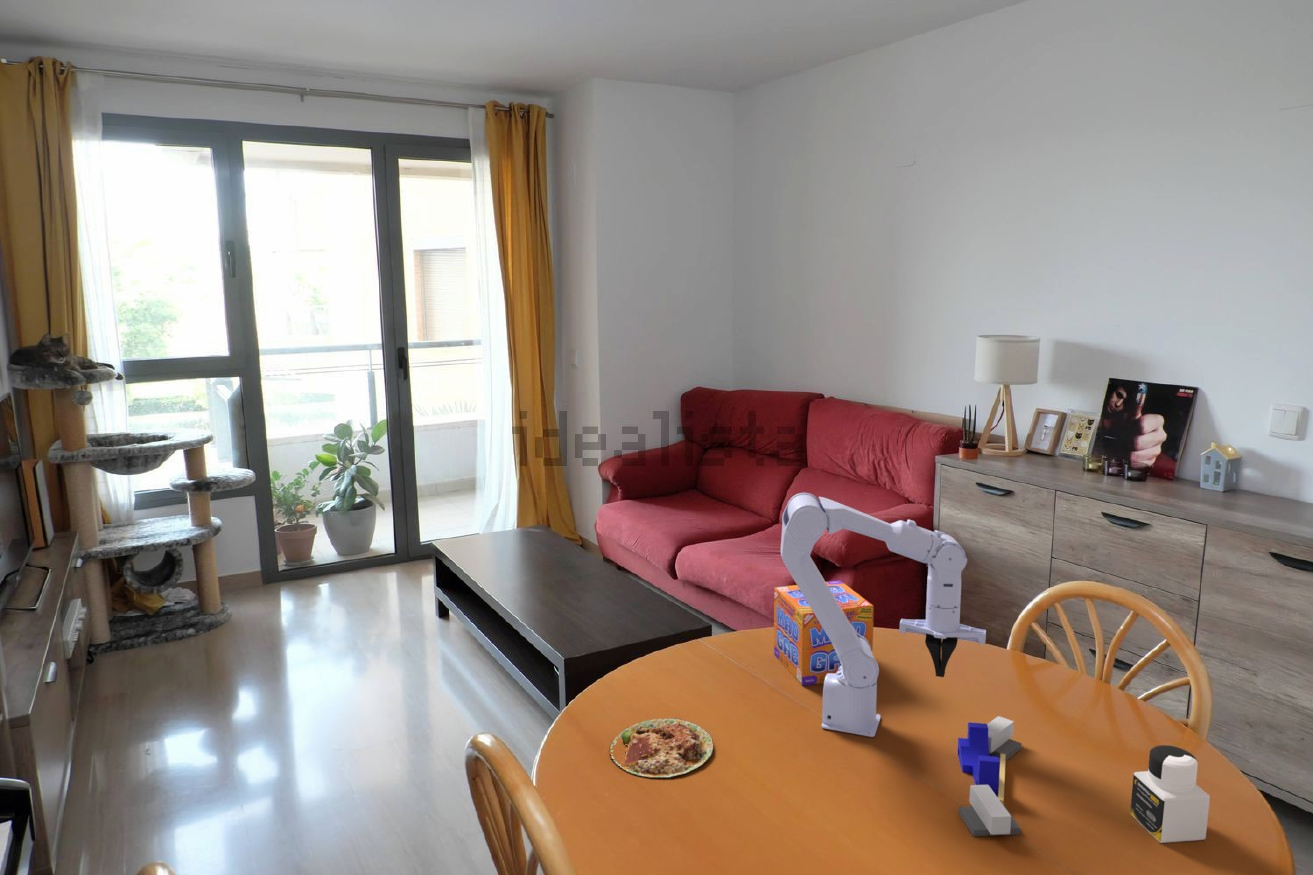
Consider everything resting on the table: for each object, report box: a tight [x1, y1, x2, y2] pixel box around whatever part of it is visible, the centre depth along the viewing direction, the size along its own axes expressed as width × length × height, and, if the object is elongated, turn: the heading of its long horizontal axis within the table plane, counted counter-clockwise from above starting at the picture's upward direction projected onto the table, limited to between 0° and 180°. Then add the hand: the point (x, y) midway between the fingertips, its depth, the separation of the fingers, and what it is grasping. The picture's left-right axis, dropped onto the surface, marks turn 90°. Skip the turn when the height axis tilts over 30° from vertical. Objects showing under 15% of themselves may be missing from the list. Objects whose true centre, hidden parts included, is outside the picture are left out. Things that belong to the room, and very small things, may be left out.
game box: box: [773, 580, 875, 687], centre depth 182 cm, size 16×16×16 cm
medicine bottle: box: [1129, 744, 1211, 844], centre depth 128 cm, size 7×7×12 cm
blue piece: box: [957, 722, 1000, 797], centre depth 143 cm, size 12×4×6 cm, turn 169°
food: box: [609, 717, 714, 779], centre depth 152 cm, size 18×18×3 cm
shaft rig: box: [958, 715, 1022, 837], centre depth 140 cm, size 9×31×4 cm, turn 157°
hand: (940, 674), depth 157 cm, fingers closed
